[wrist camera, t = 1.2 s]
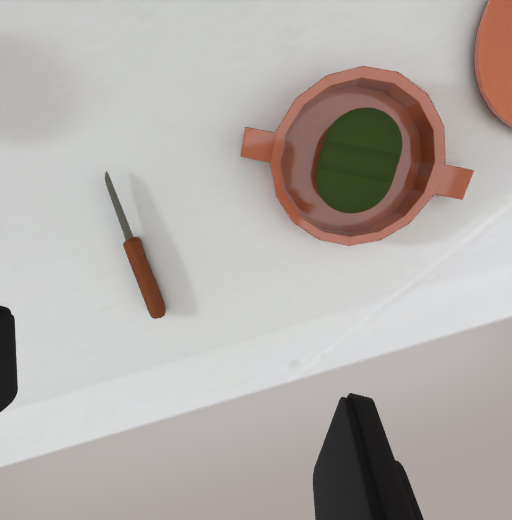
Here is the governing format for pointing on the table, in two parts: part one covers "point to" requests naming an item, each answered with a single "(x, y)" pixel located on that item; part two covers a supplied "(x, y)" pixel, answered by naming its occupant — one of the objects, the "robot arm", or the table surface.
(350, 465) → the robot arm
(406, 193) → the pot
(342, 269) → the table surface
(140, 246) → the kitchen knife
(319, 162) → the avocado
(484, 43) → the lid
